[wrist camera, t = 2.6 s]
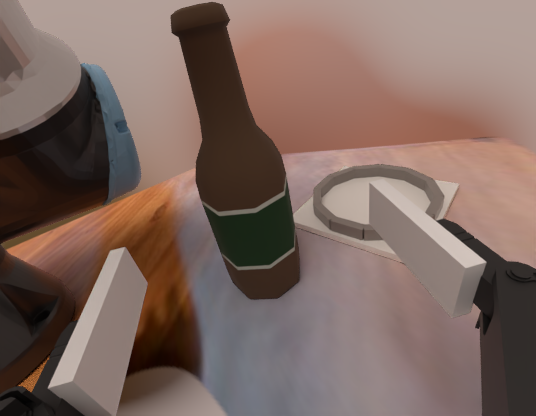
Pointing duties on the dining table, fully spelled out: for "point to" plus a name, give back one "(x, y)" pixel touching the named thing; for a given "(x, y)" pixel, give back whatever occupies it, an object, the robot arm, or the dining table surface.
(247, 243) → the beer bottle
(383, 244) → the ring plate
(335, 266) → the dining table surface
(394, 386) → the dining table surface
